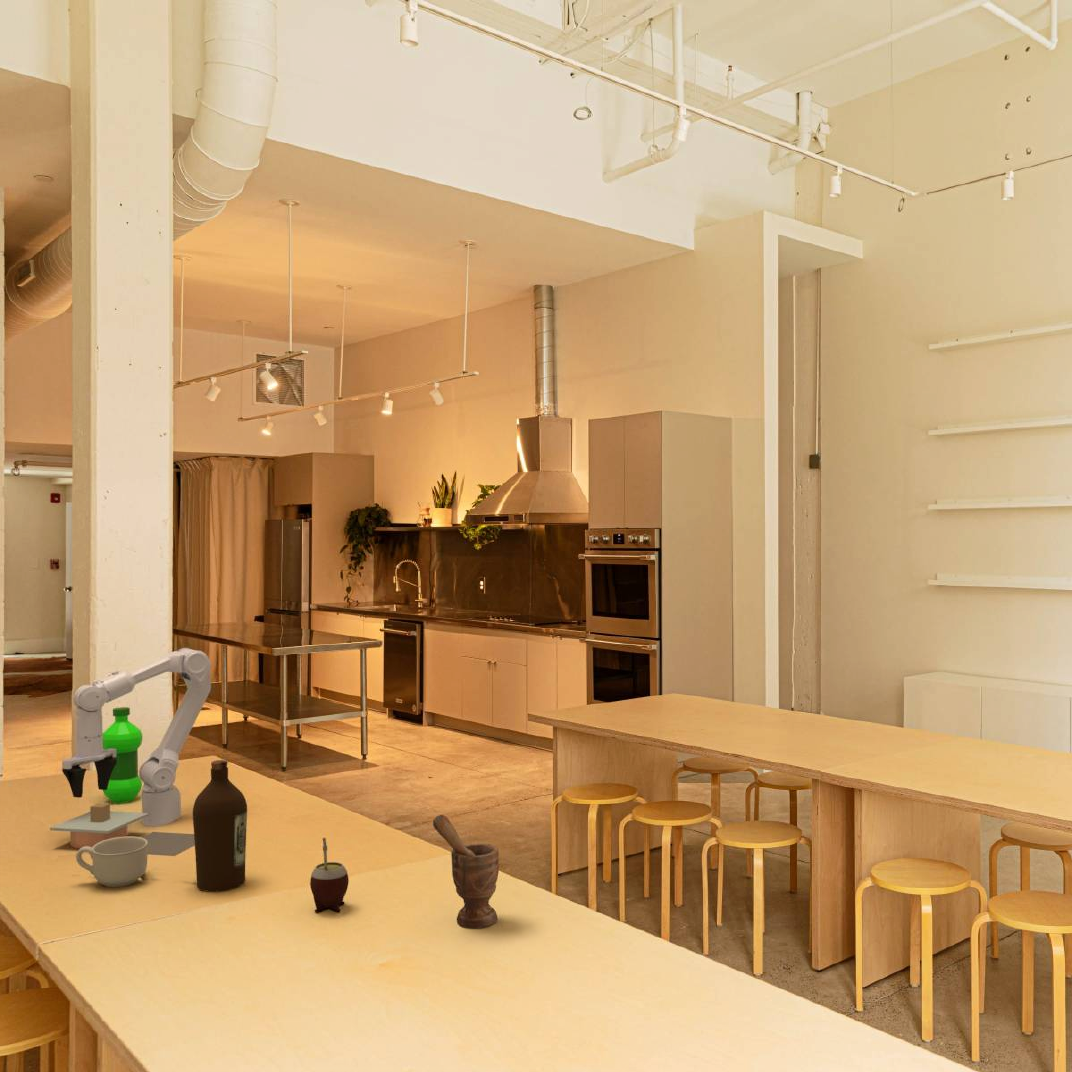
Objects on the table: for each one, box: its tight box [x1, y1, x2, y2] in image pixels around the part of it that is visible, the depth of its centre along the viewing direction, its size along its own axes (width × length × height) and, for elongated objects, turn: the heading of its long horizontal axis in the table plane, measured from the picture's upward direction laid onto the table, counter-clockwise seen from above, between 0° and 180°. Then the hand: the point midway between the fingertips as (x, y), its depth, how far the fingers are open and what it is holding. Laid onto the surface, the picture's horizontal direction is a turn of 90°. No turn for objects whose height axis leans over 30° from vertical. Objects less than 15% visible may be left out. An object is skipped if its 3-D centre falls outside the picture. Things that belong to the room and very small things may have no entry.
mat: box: [140, 831, 195, 857], centre depth 237 cm, size 16×16×1 cm
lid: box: [49, 803, 148, 834], centre depth 240 cm, size 15×15×4 cm
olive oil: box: [192, 759, 248, 893], centre depth 210 cm, size 11×11×25 cm
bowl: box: [69, 825, 129, 849], centre depth 240 cm, size 12×12×5 cm
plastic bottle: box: [102, 706, 143, 804], centre depth 280 cm, size 10×10×25 cm
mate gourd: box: [309, 837, 350, 914], centre depth 195 cm, size 8×8×15 cm
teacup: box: [75, 835, 148, 888], centre depth 213 cm, size 14×11×8 cm
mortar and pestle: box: [432, 814, 500, 929], centre depth 187 cm, size 12×9×20 cm
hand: (90, 793), depth 246 cm, fingers open, 7 cm apart
